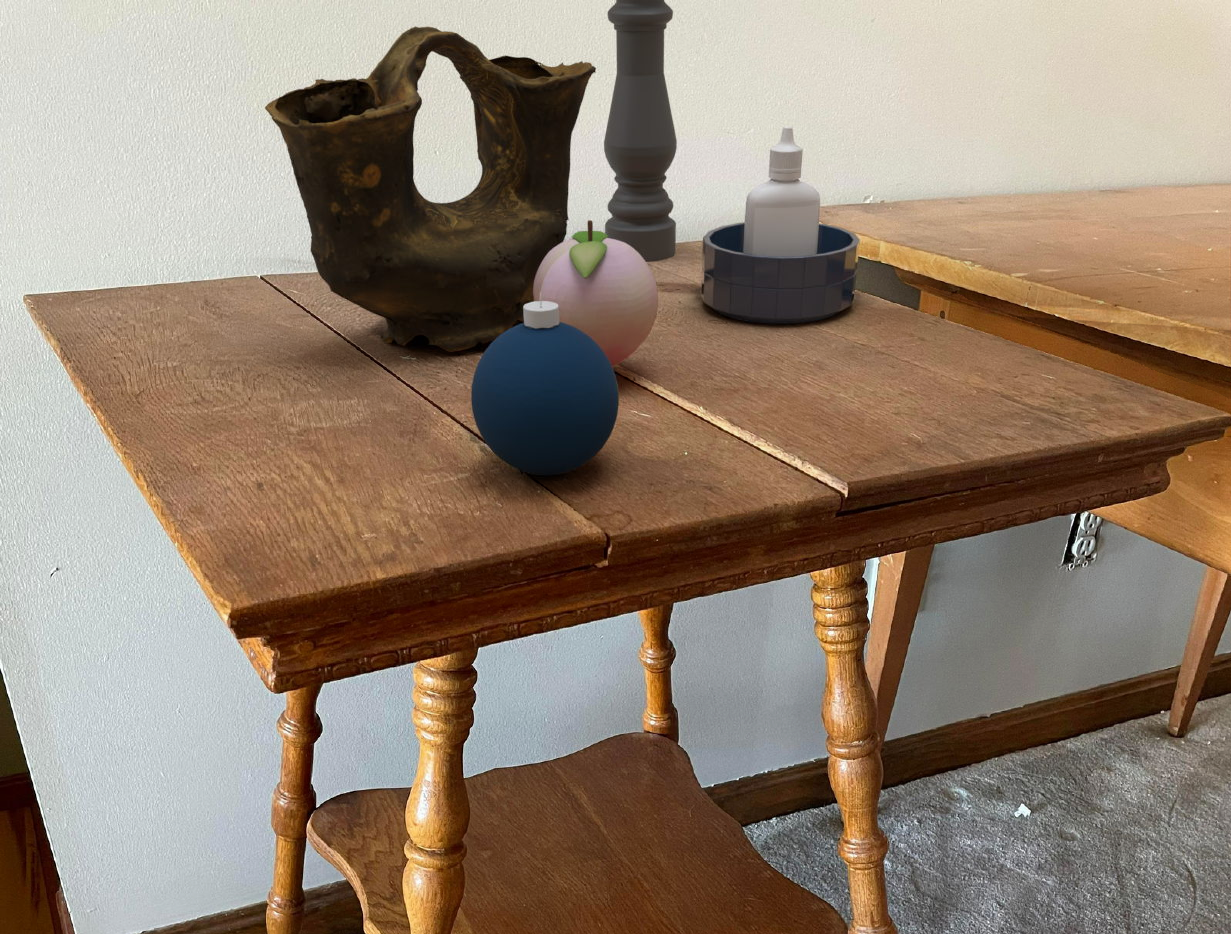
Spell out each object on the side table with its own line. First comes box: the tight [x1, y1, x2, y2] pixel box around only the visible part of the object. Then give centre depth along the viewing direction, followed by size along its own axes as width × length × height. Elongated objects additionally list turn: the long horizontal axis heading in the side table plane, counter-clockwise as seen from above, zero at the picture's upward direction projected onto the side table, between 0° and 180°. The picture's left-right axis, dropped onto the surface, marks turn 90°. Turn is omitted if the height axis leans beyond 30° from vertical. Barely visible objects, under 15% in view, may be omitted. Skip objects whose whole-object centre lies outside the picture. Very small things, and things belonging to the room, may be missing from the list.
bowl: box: [701, 221, 861, 325], centre depth 100 cm, size 12×12×5 cm
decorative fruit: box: [533, 219, 659, 368], centre depth 85 cm, size 9×8×10 cm
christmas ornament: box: [470, 292, 620, 476], centre depth 71 cm, size 8×8×10 cm
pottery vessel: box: [264, 26, 597, 353], centre depth 90 cm, size 25×11×20 cm, turn 131°
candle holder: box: [603, 0, 678, 263], centre depth 104 cm, size 6×6×25 cm
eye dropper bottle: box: [743, 126, 821, 256], centre depth 97 cm, size 4×6×12 cm
